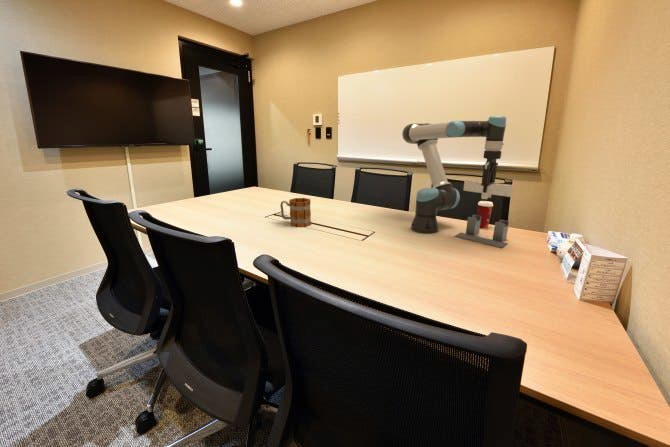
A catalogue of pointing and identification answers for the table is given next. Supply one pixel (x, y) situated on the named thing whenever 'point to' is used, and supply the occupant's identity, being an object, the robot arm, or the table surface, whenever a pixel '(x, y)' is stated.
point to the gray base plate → (481, 240)
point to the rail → (493, 188)
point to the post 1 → (473, 225)
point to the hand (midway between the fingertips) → (486, 197)
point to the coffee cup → (484, 213)
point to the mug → (298, 212)
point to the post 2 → (500, 230)
